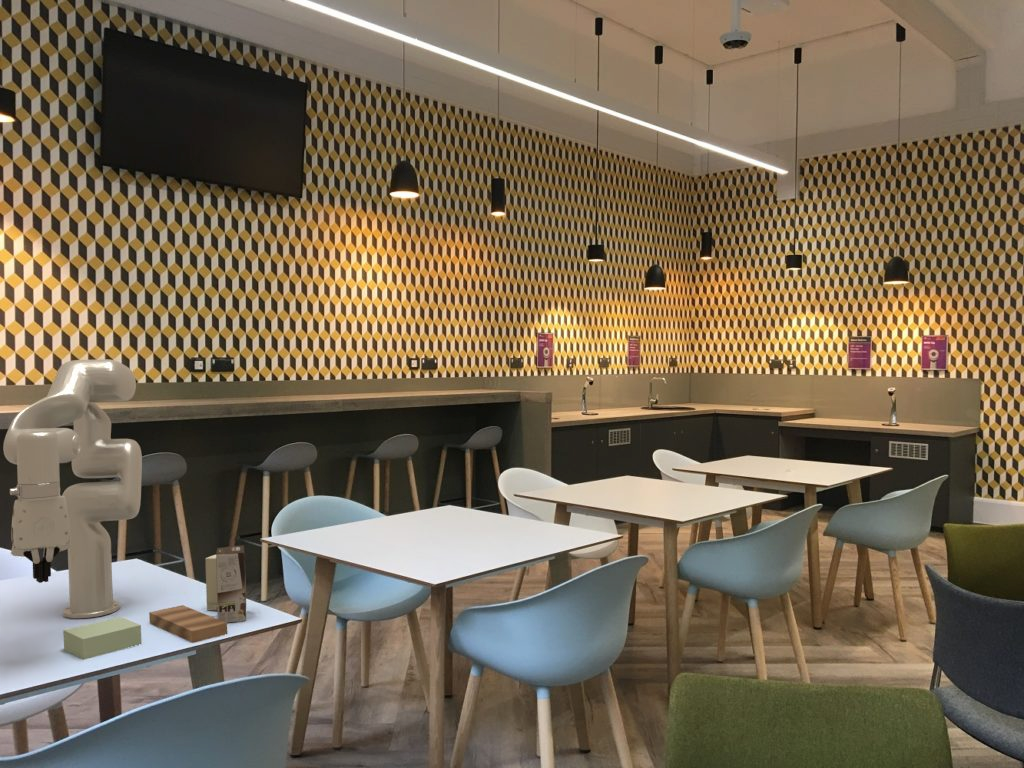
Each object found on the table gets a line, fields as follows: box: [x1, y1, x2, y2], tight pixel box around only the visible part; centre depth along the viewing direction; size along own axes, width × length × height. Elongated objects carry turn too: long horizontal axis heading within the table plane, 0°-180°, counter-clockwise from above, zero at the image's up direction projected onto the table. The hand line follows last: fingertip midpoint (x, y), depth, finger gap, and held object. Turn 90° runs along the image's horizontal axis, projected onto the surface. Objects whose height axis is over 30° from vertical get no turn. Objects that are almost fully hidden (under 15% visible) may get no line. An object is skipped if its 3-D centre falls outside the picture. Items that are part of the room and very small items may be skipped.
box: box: [204, 554, 218, 611], centre depth 213 cm, size 5×4×13 cm
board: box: [148, 604, 228, 644], centre depth 197 cm, size 22×8×3 cm, turn 45°
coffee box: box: [215, 545, 247, 624], centre depth 205 cm, size 9×6×16 cm
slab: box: [62, 616, 143, 660], centre depth 185 cm, size 10×12×4 cm
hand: (42, 581), depth 178 cm, fingers closed
